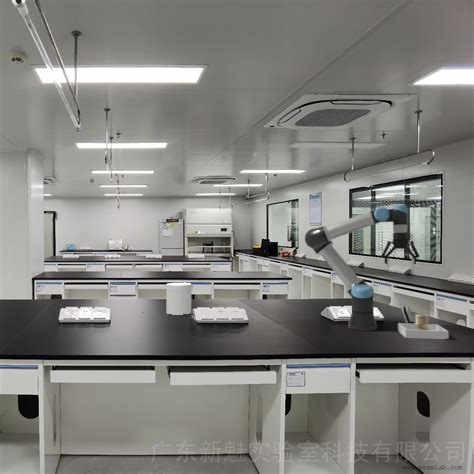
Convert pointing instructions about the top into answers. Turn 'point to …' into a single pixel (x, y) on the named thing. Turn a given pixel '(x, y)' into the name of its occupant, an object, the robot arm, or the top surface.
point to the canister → (178, 298)
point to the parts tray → (423, 331)
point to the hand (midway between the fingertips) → (400, 269)
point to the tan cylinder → (421, 322)
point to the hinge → (408, 315)
